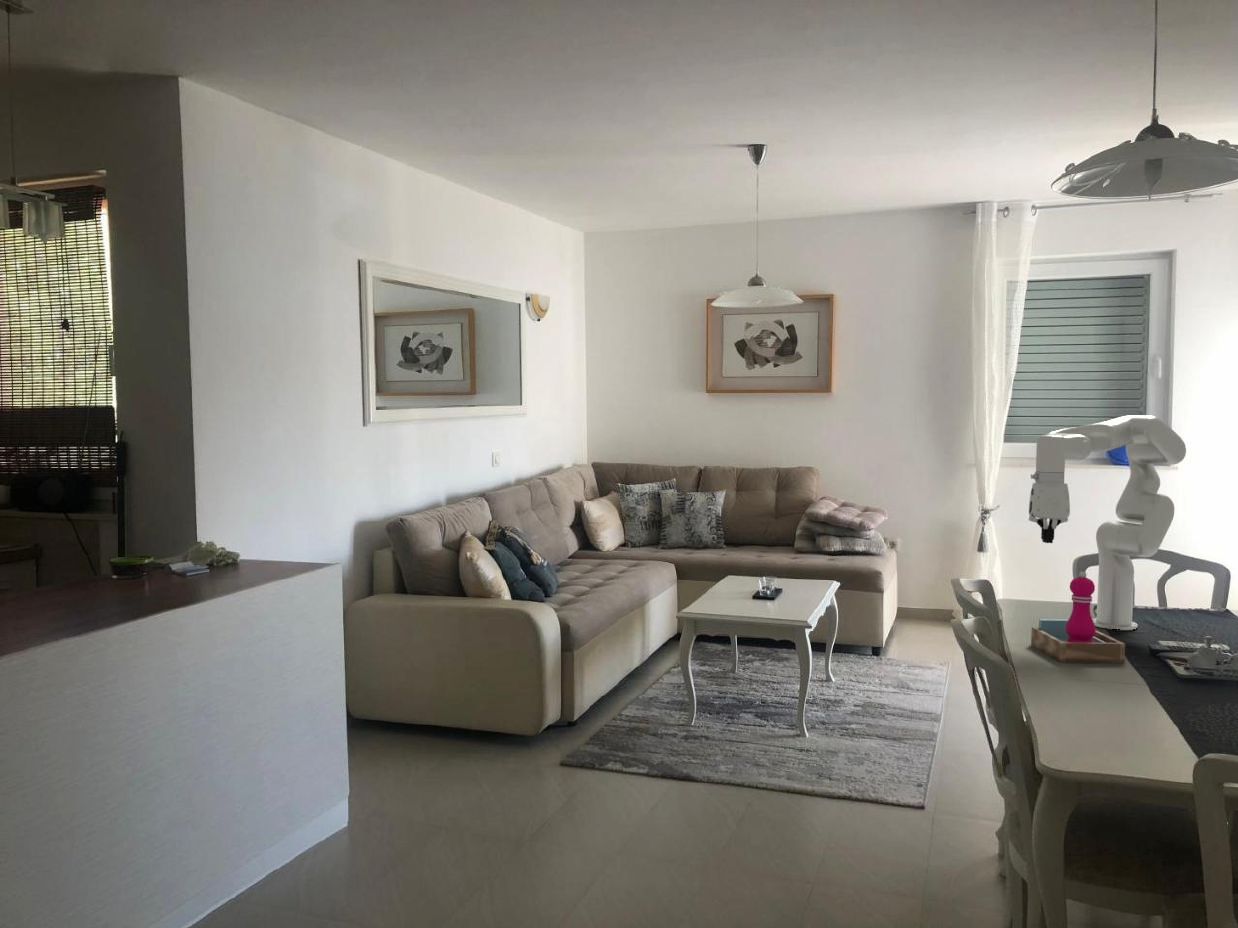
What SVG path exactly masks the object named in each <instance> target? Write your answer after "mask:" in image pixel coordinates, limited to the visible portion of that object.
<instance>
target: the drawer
mask: <svg viewBox="0 0 1238 928" xmlns="http://www.w3.org/2000/svg"><path fill="white" fill-rule="evenodd" d="M1068 620H1069V619H1061V618H1060V619H1059V618H1057V619H1054V618H1053V619H1052V618H1051V619H1048V618H1046V619H1045V618H1041V619H1038V629H1040V630H1042V631H1044V632H1046V633H1048V634H1050V635H1052V636H1053V637H1055V638H1057V639H1059V640H1061V641H1063V642H1067V639H1068V638H1069V635H1068V634H1067V632H1066V624H1067V622H1068ZM1091 640H1092V641H1093V642H1095V643H1106V642H1104V641H1102V640H1100V639H1098V638H1096V637H1094V636H1093V637H1092V638H1091Z"/></svg>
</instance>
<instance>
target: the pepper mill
mask: <svg viewBox="0 0 1238 928" xmlns="http://www.w3.org/2000/svg"><path fill="white" fill-rule="evenodd" d="M1078 576H1079V577H1074V578H1073V579H1072V580H1071V581H1070V584H1069V590H1070V591H1071V593H1072V595H1071V601H1072V612H1071V614H1070V616H1069V618H1068V619H1067V620H1068V622H1067V624H1066V632H1067V634H1068V635H1069V638H1068V639H1067V642H1093V641H1092V640H1091V638H1092V637H1093V636H1094V635H1095V633H1096V630H1097V629H1096V626H1095V624H1094V622H1093V620H1092V619H1093V617H1092V615H1091V603H1092V602H1093V596H1092V595H1093V594H1094V592H1095V591H1096V590H1095V589H1096V588H1095V587H1096V585H1095V583H1094V581H1093V580H1092V579H1090V578H1088V577H1087V572H1085V571H1080V572H1079V574H1078Z"/></svg>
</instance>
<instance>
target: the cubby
mask: <svg viewBox="0 0 1238 928" xmlns="http://www.w3.org/2000/svg"><path fill="white" fill-rule="evenodd" d="M1094 637H1096V638H1098V639H1100V640H1102V641H1104V642H1106V643H1095V642H1063V641H1061V640H1059V639H1057V638H1055V637H1053V636H1052V635H1050V634H1048V633H1046V632H1044V631H1042V630H1040V629H1039V627H1036V626H1033V627H1031V636H1030V646H1031V647H1033V648H1035V649H1037V650H1039V651H1040V652H1042V653H1044V654H1046V655H1047V656H1049V657H1051V658H1053V659H1054V660H1055V661H1058V662H1059V663H1071V664H1072V663H1075V664H1076V663H1077V664H1078V663H1083V664H1085V663H1086V664H1094V663H1095V664H1125V660H1126V659H1125V656H1126V654H1125V653H1126V643H1125V642H1122V641H1120V640H1118V639H1116V638H1114V637H1112V636H1110V635H1107V634H1105V633H1103V632H1100V631H1099V630H1097V629H1096V633H1095V635H1094Z"/></svg>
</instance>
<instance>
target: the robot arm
mask: <svg viewBox="0 0 1238 928" xmlns="http://www.w3.org/2000/svg"><path fill="white" fill-rule="evenodd" d="M1121 447H1125V454H1126V457H1127V461H1128V464H1129V471H1130V472H1129V473H1130V475H1129V479H1128V480H1127V484H1126V485H1125V487H1124V489H1123V491H1122V492H1121V495H1120V497H1119V499H1118V501H1117V503H1116V506H1115V515H1116V516H1117V518H1119V520H1120V521H1118V520H1111V521H1109V520H1108V521H1105V522H1103V523H1102V524H1100V525H1099V527H1097V530H1096V532H1095V534H1096V535H1095V539H1096V547H1097V552H1098V573H1097V574H1098V576H1097V577H1098V578H1097V599H1096V601H1097V602H1096V609H1095V610H1094V612H1095V614H1096V618H1095V617H1094V618H1092V620H1093V622H1094V624H1095V628H1096V627H1097V628H1100V629H1105V628H1106V629H1107V630H1112V629H1117V630H1116V631H1133V629H1135V630H1137V629H1138V628H1139V627H1138V626H1139V625H1138V623H1137V622H1134V621H1133V606H1134V585H1135V583H1134V582H1135V581H1134V580H1135V566H1134V564H1133V561H1132V559H1131V558H1130V557H1131V556H1132V557H1140V558H1150V557H1152V556H1154V555H1155V554H1156V553H1157V552H1158V550H1159V548H1160V547H1161V545H1162V543H1163V541H1164V539H1165V537H1166V535H1167V532H1168V531H1169V529H1170V527H1171V525H1172V522H1173V520H1174V516H1175V505H1174V504H1175V503H1174V502H1173V500H1172V498H1170V497H1169V496H1168V495H1165V494H1161V493H1159V492H1158V491H1159V490H1160V487H1161V479H1160V475H1159V473H1158V472H1157V470H1156V468H1155V466H1154V465H1167V466H1168V465H1169V466H1172V465H1178V464H1179V463H1181V462H1183V460H1184V459H1185V457H1186V454H1187V447H1186V444H1185V442H1184V440H1183V439H1182V437H1181V436H1180V435H1179V434H1178V433H1177V432H1176V431H1175V430H1173V428H1172V427H1170V426H1169V424H1167V423H1166V422H1165V421H1163V419H1161V418H1159V417H1157V416H1154V415H1134V414H1133V415H1122V416H1118V417H1115V418H1113V419H1109V420H1106V421H1102V422H1097V423H1092V424H1086V425H1080V426H1075V427H1073V426H1072V427H1069V428H1068V427H1067V428H1062V429H1058V430H1055V431H1051V432H1049V433H1046V434H1042V435H1039V436H1037V439H1036V449H1035V450H1036V453H1035V455H1036V456H1035V457H1036V458H1035V471H1034V473H1031V474H1030V479H1033V480H1034V482H1033V483H1032V485H1031V490H1030V495H1029V501H1028V502H1029V503H1028V514H1029V517H1028V521H1029V522H1032V523H1035V524H1037V525H1038V526H1039V528H1040V529H1041V531H1040V532H1041V533H1040V534H1041V535H1040V536H1041V537H1040V538H1041V541H1042V543H1045V544H1053V541H1054V540H1055V530H1056V529H1057V527H1058V526H1059V525H1060V524H1063V523H1067V522H1069V518H1070V514H1071V506H1070V505H1071V503H1070V493H1069V492H1070V491H1069V486H1068V483H1065V471H1066V470H1065V468H1066V466H1065V465H1066V461H1083V460H1085V459H1086V458H1088V457H1089V456H1090V455H1091V454H1092V453H1100V452H1103V453H1104V452H1107V451H1112V450H1115V449H1118V448H1121ZM1137 627H1138V628H1137ZM1136 628H1137V629H1136ZM1106 629H1105V630H1106ZM1118 629H1120V630H1118Z"/></svg>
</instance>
